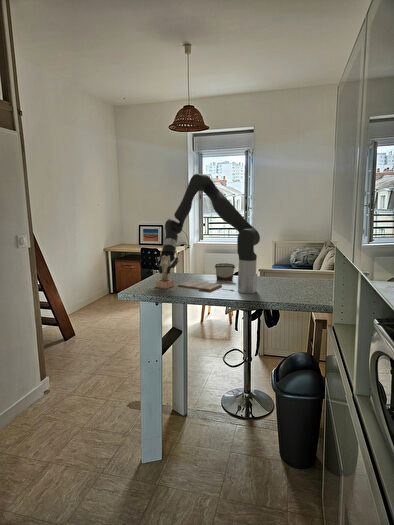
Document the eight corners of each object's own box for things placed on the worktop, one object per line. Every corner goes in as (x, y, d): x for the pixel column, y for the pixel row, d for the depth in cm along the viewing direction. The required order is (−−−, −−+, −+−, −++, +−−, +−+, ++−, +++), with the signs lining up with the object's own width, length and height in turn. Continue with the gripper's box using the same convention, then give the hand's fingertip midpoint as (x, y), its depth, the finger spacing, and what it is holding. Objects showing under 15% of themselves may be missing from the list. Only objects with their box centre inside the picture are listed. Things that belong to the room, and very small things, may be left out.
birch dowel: (169, 285, 195) (169, 256, 193) (165, 286, 192) (165, 257, 190) (164, 284, 197) (163, 256, 194) (160, 285, 194) (160, 256, 191)
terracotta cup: (173, 286, 196) (173, 279, 195) (166, 289, 190) (166, 282, 189) (163, 285, 200) (163, 278, 199) (155, 287, 193) (155, 280, 193)
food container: (234, 279, 218) (235, 263, 216) (234, 281, 212) (235, 265, 210) (214, 278, 219) (215, 262, 217) (214, 280, 213) (214, 264, 211)
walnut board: (221, 286, 198) (221, 284, 198) (210, 292, 186) (210, 289, 185) (190, 282, 207) (190, 280, 207) (177, 287, 195) (177, 284, 195)
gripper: (155, 243, 199) (149, 268, 190) (180, 244, 197) (175, 269, 187) (158, 251, 205) (152, 276, 196) (182, 252, 203) (177, 277, 193)
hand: (164, 273), depth 191 cm, fingers closed on birch dowel, 3 cm apart
